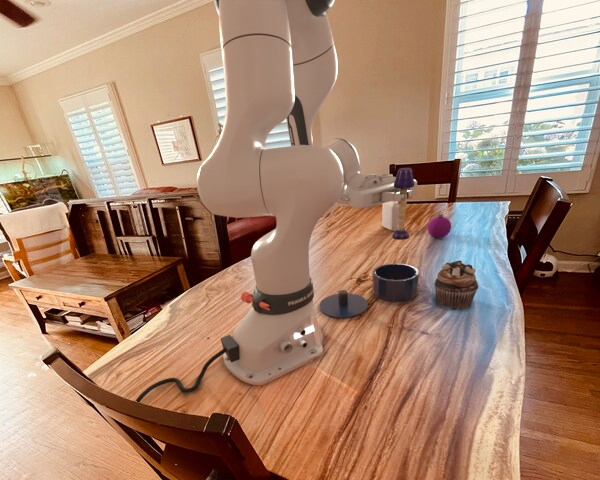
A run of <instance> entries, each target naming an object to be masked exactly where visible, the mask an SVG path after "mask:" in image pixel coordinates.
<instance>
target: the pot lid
mask: <svg viewBox="0 0 600 480" xmlns="http://www.w3.org/2000/svg"><path fill="white" fill-rule="evenodd" d="M318 307H319V311H320V312H321V313H322V314H323V315H325V316H326V317H329V318H333V319H339V320H340V319H341V320H343V319H352V318H357V317H359V316H361V315H363V314H364V313H366V311H368V308H369V302H368V300H367V299H366V298H365V297H363V296H361V295H359V294H357V293H350V292H349V291H347V290H346V289H341V290H338V292H337V293H335V294H330V295H328V296H326V297H324V298H323V299H321V301H320V303H319V305H318Z"/></svg>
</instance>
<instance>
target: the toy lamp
mask: <svg viewBox="0 0 600 480" xmlns="http://www.w3.org/2000/svg"><path fill="white" fill-rule="evenodd" d="M395 177H396V179H395V183H394V187H395V188H399V189H400V193H404V199H403V200H402V201H398V203H399V205H400V207H399V214H398V218H399V219H398V227H397V229H398V230H396V231H393V233H392V235H391V238H392V239H393V240H397V241H404V240H407V239H409V238H410V234H409V232H408V231H407V230H406V229H405V223H406V219H405V218H406V211H407V202H408V201H407V200H408V199H407V194H406V193H407V190H408V189H407V188H411V187H414V180H415V179H414V173H413V169H412V168H411V167H401V168H399V169H397V173H396V176H395Z"/></svg>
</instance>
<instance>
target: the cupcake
mask: <svg viewBox="0 0 600 480" xmlns="http://www.w3.org/2000/svg"><path fill="white" fill-rule="evenodd" d="M476 271H477V270H476V268H474V267H473V265H472V264H470V263H469V264H465V263H464V262H463V261H462V260H456V261H455V260H454V261H452V262H446V263H444V264H442V265H441V269H440V270H439V272H438V273H437V275H436V279H435V281H434V291H435V299H436V302H437V303H438V304H440V305H442V306H444V307H448V308H450V309H451V310H453V311H459V310H461V311H462V310H466V309H468V308H469V307H471V305H472V304H473V300H474V299H475V296H476V293H477V291H478V290H479V287H480V286H479V283H478V281H477V276H476V275H475V273H476Z"/></svg>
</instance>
